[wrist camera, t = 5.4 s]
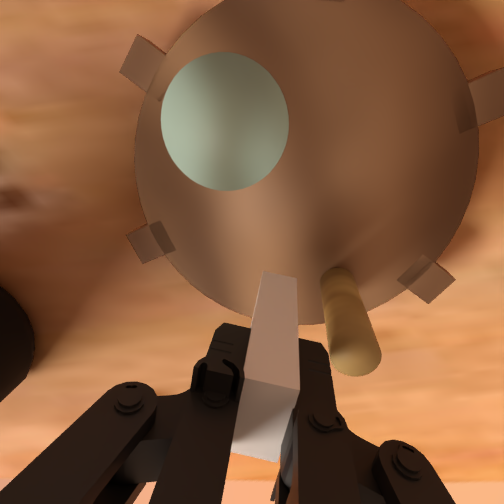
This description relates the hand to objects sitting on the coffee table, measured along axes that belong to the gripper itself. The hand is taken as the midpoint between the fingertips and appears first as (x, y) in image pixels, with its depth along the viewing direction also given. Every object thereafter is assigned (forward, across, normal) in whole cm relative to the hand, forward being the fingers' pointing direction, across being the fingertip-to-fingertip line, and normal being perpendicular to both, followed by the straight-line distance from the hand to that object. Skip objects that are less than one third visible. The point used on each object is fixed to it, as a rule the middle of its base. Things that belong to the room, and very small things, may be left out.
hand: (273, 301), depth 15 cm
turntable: (+4, 0, +5) cm, 7 cm away
